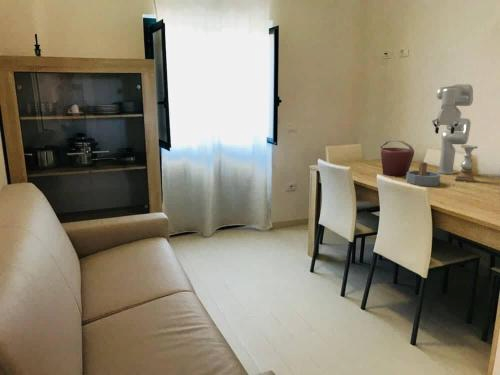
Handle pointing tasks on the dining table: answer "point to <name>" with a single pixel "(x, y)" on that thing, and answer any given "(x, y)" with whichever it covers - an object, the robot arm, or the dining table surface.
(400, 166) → the bucket
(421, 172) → the brown rectangular block
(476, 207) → the dining table surface
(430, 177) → the grey bowl
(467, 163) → the candle holder
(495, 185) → the dining table surface
